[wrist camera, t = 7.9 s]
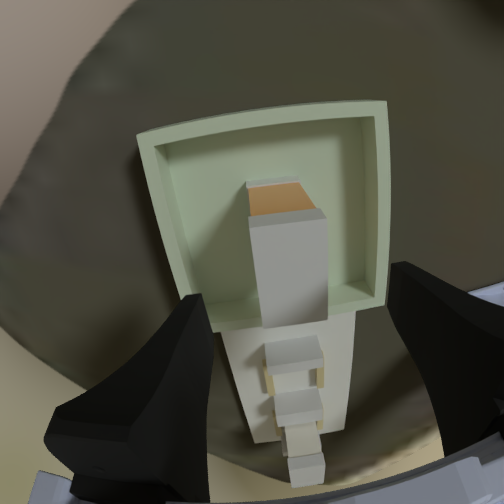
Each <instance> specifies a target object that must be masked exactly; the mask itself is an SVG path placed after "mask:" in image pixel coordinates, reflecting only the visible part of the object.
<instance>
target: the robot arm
mask: <svg viewBox="0 0 504 504" xmlns="http://www.w3.org/2000/svg"><path fill="white" fill-rule="evenodd" d="M387 308H388V310H389V313H390V315H391V318H392V320H393V323H394V325H395V327H396V329H397V331H398V333H399V335H400V336H401V338H402V340H403V342H404V344H405V345H406V347H407V349H408V351H409V353H410V354H411V356H412V358H413V360H414V362H415V363H416V365H417V367H418V369H419V371H420V373H421V375H422V378H423V380H424V383H425V385H426V388H427V391H428V394H429V396H430V400H431V403H432V406H433V409H434V412H435V416H436V419H437V423H438V427H439V431H440V435H441V440H442V446H443V451H444V458H442V459H439V460H437V461H434V462H432V463H429V464H426V465H424V466H421V467H418V468H415V469H413V470H410V471H407V472H404V473H401V474H397V475H394V476H391V477H388V478H385V479H381V480H377V481H374V482H370V483H366V484H362V485H358V486H354V487H350V488H345V489H341V490H336V491H331V492H325V493H320V494H315V495H309V496H301V497H294V498H286V499H278V500H267V501H255V502H240V503H238V502H237V503H210V495H209V483H208V468H207V439H206V416H207V404H208V396H209V388H210V381H211V373H212V365H213V357H214V339H213V331H212V328H211V324H210V321H209V318H208V314H207V311H206V307H205V304H204V300H203V297H202V293H197V294H189V295H185V296H184V298H183V299H182V300H181V301H180V303H179V304H178V305H177V307H176V308H175V309H174V311H173V312H172V313H171V314H170V316H169V317H168V318H167V320H166V321H165V322H164V323H163V325H162V326H161V327H160V328H159V329H158V331H157V332H156V333H155V334H154V335H153V336H152V337H151V338H150V340H149V341H148V342H147V343H146V344H145V345H144V346H143V347H142V348H141V349H140V350H139V351H138V352H137V353H136V354H135V355H134V356H133V357H132V358H131V359H130V360H129V361H128V362H126V363H125V364H124V365H123V366H122V367H120V368H119V369H118V370H117V371H115V372H114V373H113V374H111V375H110V376H109V377H108V378H106V379H105V380H103V381H102V382H100V383H99V384H98V385H96V386H95V387H93V388H91V389H90V390H88V391H86V392H85V393H83V394H81V395H80V396H78V397H76V398H74V399H72V400H70V401H68V402H66V403H64V404H62V405H60V406H58V407H56V409H55V411H54V413H53V416H52V418H51V421H50V423H49V426H48V428H47V430H46V433H45V436H44V443H45V445H46V447H47V449H48V450H49V451H50V452H51V453H52V454H53V455H54V456H55V457H56V458H57V459H58V460H59V461H60V462H62V463H63V464H64V465H65V466H66V467H67V468H69V469H70V470H71V471H72V472H73V473H74V476H73V480H72V481H71V480H70V479H68V478H65V477H63V476H59V475H55V474H52V473H48V472H45V471H41V470H40V471H38V473H37V476H36V479H35V482H34V485H33V488H32V491H31V495H30V498H29V501H28V504H504V282H501V283H497V284H494V285H491V286H488V287H484V288H481V289H477V290H474V291H470V292H465V291H462V290H460V289H458V288H456V287H454V286H452V285H450V284H448V283H446V282H445V281H443V280H441V279H439V278H437V277H435V276H433V275H432V274H430V273H428V272H426V271H424V270H422V269H421V268H419V267H417V266H415V265H413V264H411V263H408V262H406V261H403V262H397V263H392V264H391V272H390V283H389V293H388V303H387Z"/></svg>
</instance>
